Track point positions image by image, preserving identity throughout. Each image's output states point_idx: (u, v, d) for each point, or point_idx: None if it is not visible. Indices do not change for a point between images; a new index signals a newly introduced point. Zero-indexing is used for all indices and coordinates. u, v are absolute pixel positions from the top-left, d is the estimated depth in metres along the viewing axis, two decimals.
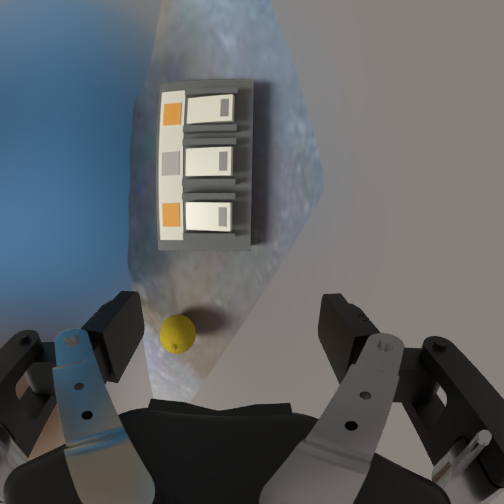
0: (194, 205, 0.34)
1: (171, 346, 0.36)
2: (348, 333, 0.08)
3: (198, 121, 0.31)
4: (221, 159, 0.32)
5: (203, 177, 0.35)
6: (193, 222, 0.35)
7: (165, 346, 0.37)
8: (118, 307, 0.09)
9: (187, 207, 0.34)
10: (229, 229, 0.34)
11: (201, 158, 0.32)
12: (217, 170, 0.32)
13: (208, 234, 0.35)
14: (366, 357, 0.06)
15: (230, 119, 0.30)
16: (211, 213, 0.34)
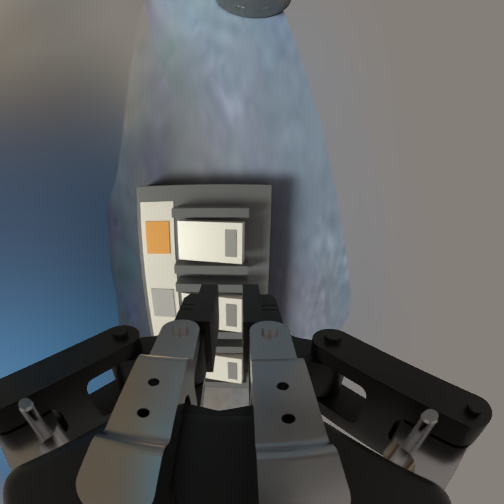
0: None
1: None
2: (243, 319, 0.09)
3: (194, 258, 0.25)
4: (229, 313, 0.25)
5: None
6: None
7: None
8: (210, 298, 0.10)
9: None
10: (240, 381, 0.28)
11: None
12: (224, 325, 0.26)
13: (216, 383, 0.28)
14: (257, 348, 0.07)
15: (239, 262, 0.24)
16: (218, 365, 0.27)
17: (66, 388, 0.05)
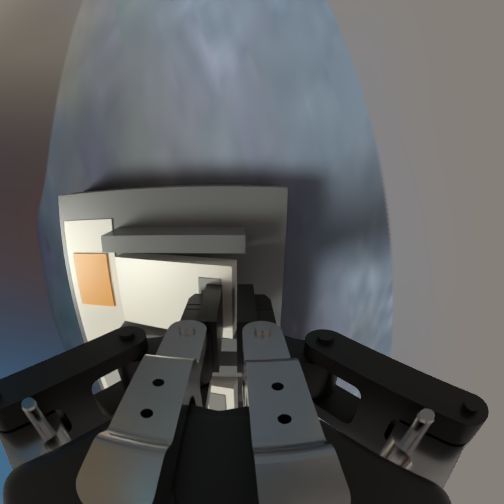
0: None
1: None
2: None
3: (149, 323, 0.13)
4: (213, 404, 0.14)
5: None
6: None
7: None
8: (215, 298, 0.10)
9: None
10: None
11: None
12: None
13: None
14: (251, 349, 0.07)
15: (228, 335, 0.12)
16: None
17: (70, 388, 0.05)
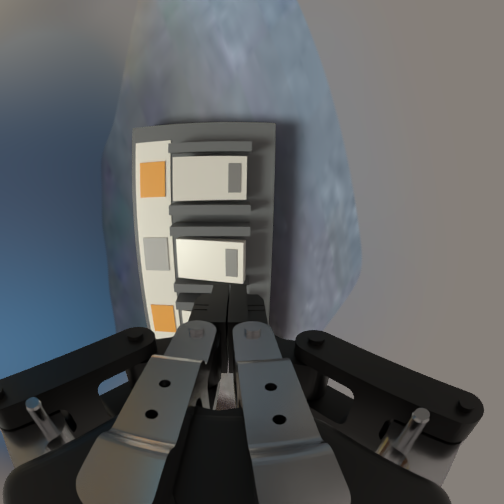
0: None
1: None
2: (228, 319, 0.09)
3: (192, 198, 0.21)
4: (229, 260, 0.23)
5: None
6: None
7: None
8: (223, 298, 0.10)
9: (184, 316, 0.25)
10: None
11: (199, 255, 0.23)
12: (223, 275, 0.23)
13: None
14: (242, 350, 0.07)
15: (244, 198, 0.22)
16: None
17: (76, 389, 0.05)
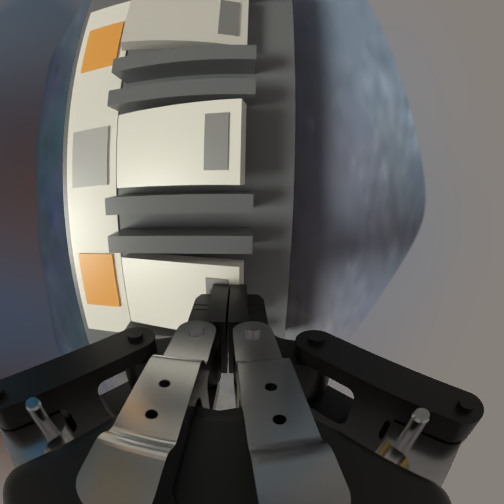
0: (141, 266, 0.12)
1: None
2: (228, 319, 0.09)
3: (155, 37, 0.09)
4: (211, 136, 0.10)
5: (166, 188, 0.13)
6: (145, 309, 0.13)
7: None
8: (223, 298, 0.10)
9: (126, 270, 0.13)
10: None
11: (155, 136, 0.11)
12: (199, 170, 0.11)
13: None
14: (242, 350, 0.07)
15: (243, 44, 0.10)
16: (185, 290, 0.12)
17: (76, 389, 0.05)
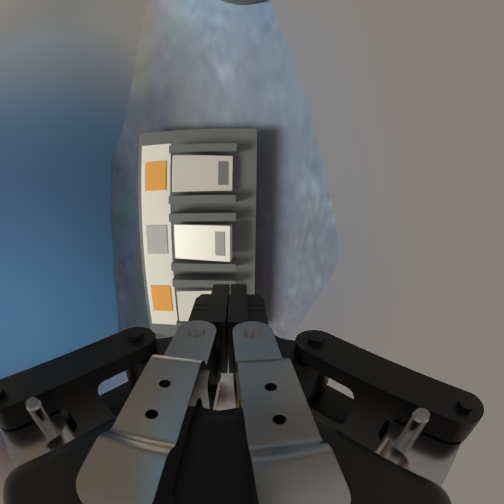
0: (187, 294, 0.28)
1: None
2: (228, 319, 0.09)
3: (189, 189, 0.26)
4: (217, 241, 0.27)
5: None
6: (188, 313, 0.29)
7: None
8: (223, 298, 0.10)
9: (179, 297, 0.28)
10: None
11: (193, 238, 0.27)
12: (213, 255, 0.27)
13: None
14: (242, 350, 0.07)
15: (230, 189, 0.27)
16: None
17: (76, 389, 0.05)
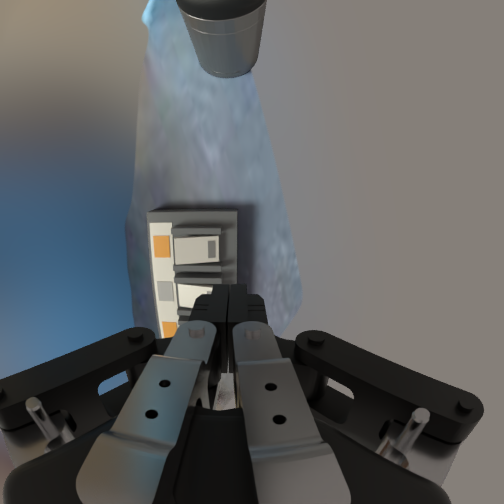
0: None
1: None
2: (228, 319, 0.09)
3: (187, 262, 0.36)
4: None
5: None
6: None
7: None
8: (223, 298, 0.10)
9: None
10: None
11: (192, 294, 0.38)
12: None
13: None
14: (242, 350, 0.07)
15: (217, 260, 0.38)
16: None
17: (76, 389, 0.05)
